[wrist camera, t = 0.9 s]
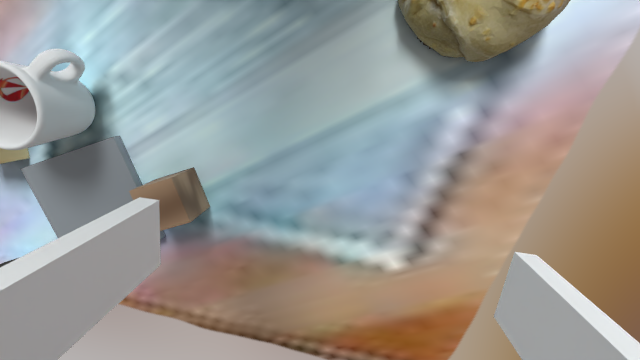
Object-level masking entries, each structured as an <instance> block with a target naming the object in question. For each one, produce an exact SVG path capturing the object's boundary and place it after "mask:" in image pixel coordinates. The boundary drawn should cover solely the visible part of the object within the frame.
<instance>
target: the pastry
mask: <svg viewBox="0 0 640 360" xmlns="http://www.w3.org/2000/svg"><path fill="white" fill-rule="evenodd" d="M569 1H570V0H398V3H399V7H400V9H401V12H402V14H403V16H404V18H405V20H406V22H407V23H408V25H409V26H410V28H411V29H412V30H413V32H414V33H415V34H416V36H417V38H418V39H420V42H423V44H424V45H426V46H429V49H430V48H433V50H435V51H436V52H438V53H439V54H440V55H442V56H447V57H455V58H458V57H464V58H465V59H466V60H467V61H471V62H479V61H485V60H488V59H490V58H493V57H495V56H497V55H498V54H501V53H503V52H506V51H508V50H510V49H511V48H513V47H515V46H516V45H518V44H520V43H522V42H523V41H525V40H527V39H528V38H530V37H531V36H533V35H534V34H536V33H537V32H539V31H540V30H542V29H543V28H545V27H546V26H547V25H548V24H549V23H550V22H551V21H552V20H553V19H554V18H555V17H556V16H557V15H559V14H560V13H561V12H562V11H563V9H564V8H565V7H566V6H567V4H568V3H569Z"/></svg>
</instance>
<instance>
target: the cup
mask: <svg viewBox="0 0 640 360" xmlns="http://www.w3.org/2000/svg"><path fill="white" fill-rule="evenodd" d="M65 62H70V65H69V66H68V67H67V68H66V69H64V70H62V71H56V72H54V71H51V70H52V68H53V67H55V66H56V65H58V64H60V63H65ZM84 69H85V64H84V62H83V61H82V60H81V58H80V57H78V56H77V55H76V54H74V53H72V52H70V51H67V50H63V49H49V50H46V51H44V52H42V53H40V54H39V55H38V56H36V58H35V59H34V60H33V61H32V62H31V63H30V65H29V66H24V65H19V64H14V63H9V62H4V61H0V148H1V149H6V150H21V149H26V148H29V147H33V146H37V145H40V144H44V143H48V142H51V141H55V140H59V139H62V138H66V137H70V136H73V135H76V134H79V133H81V132H83V131H84V130H86V129H87V128H88V127H89V126H90V125H91V123H92V122H93V120H94V117H95V103H94V100H93V97H92V95H91V93H90V92H89V90H88V89H87V88H86V86H85V85H83V84H82V83H81V82H80V81H78V80H79V78H80V77H81V75H82V74H83V72H84Z"/></svg>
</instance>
